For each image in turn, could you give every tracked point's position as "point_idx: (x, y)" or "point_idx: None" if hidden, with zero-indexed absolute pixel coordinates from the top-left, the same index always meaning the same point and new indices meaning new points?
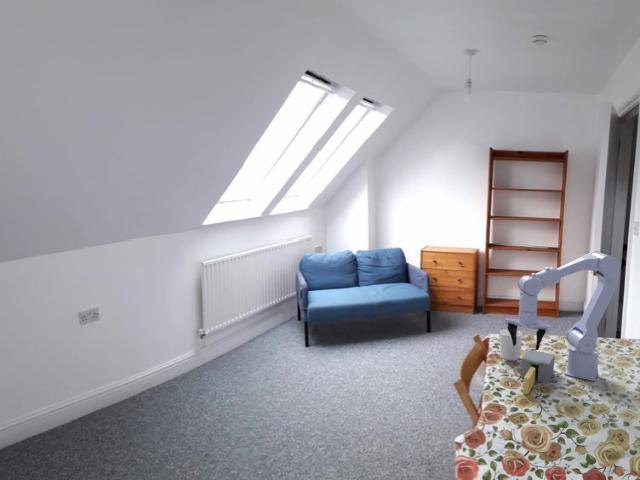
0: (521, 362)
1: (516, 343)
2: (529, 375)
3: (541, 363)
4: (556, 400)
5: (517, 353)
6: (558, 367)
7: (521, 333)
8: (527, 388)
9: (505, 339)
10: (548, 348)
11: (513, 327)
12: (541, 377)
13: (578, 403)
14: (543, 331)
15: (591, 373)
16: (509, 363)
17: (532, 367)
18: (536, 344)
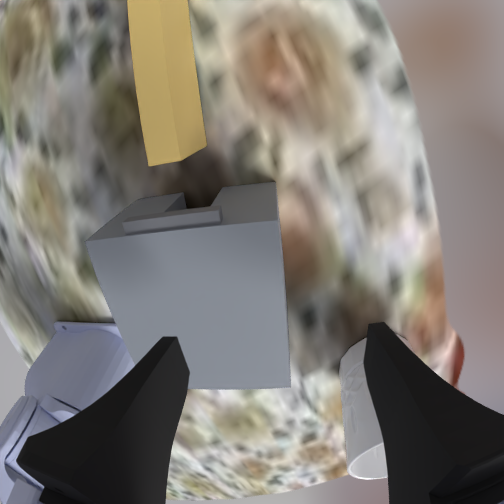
0: (273, 209)
1: (364, 412)
2: (135, 12)
3: (126, 232)
4: (59, 61)
5: (348, 376)
6: None
7: (351, 473)
8: None
9: None
10: (270, 456)
11: (454, 489)
12: (159, 202)
13: (10, 110)
14: (57, 493)
15: (56, 343)
16: (367, 307)
17: (166, 157)
18: (151, 370)
